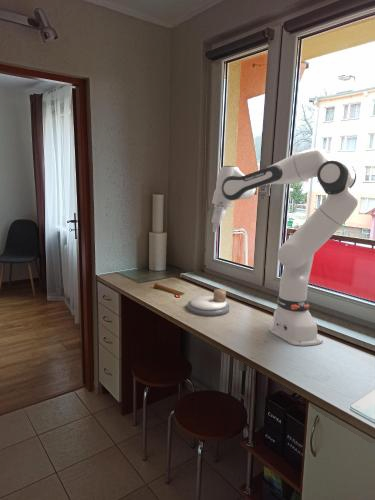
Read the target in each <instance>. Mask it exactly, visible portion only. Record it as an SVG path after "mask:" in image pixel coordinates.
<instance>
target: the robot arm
mask: <svg viewBox="0 0 375 500" xmlns="http://www.w3.org/2000/svg"><path fill="white" fill-rule="evenodd" d="M313 178H317V180H318V183H319V185H320V186H321V188H322V190H323V191H324V193H325V194H327V196H326V198H325V200H324V201H323V202H322V203H321V204H320V205H319V206H318V207H317V209H316V210H315V211H314V212H312V214H311V215H310V216H309V217H308V218H307V220H306V221H305V222H304V223H303V224H302V225H300V226H299V228H298V229H297V230H295V231H294V233H292V235H290V236H289V238H288V239H286V240H285V242H284V243H283V244H282V245H281V246H280V248H279V250H278V252H277V258H278V259H277V260H278V262H279V263H280V265H282V266H283V271H282V273H281V275H280V282H279V293H278V296H277V303H276V304H277V307H276V308H275V310H274V312H273V315H272V316H273V317H272V323H271V326H270V327H269V328H268V331H269V332H270V333H272V334H274V335H275V336H277V337H279V338H281V339H282V340H284V341H286V342H288V343H289V344H291V345H293V346H304V347H306V346H313V345H314V346H315V345H320V344H322V343H323V342H324V339H323V338H322V337H321V336H320V335H319V334H318V322H317V320H314V318H313V316H312V314H311V313H310V311H309V308H310V304H309V302H308V298H307V296H308V287H309V280H310V276H311V271H312V267H313V262H314V256H315V253H316V252H318V250H320V249H321V248H322V247H323V246H324V244H325V243H327V242H328V241H329V240H330V238H331V237H333V236H334V235H335V233H336V232H337V231H338V230H339V229H340V228H341V227H342V226H343V225H345V223H346V221H348V219H349V218H350V217H351V216H352V214H353V213H354V211H355V210H356V208H357V207H358V201H359V200H358V198H357V196H356V194H354V192H352V191H351V188H352V187H353V186H354V184H355V183H356V180H357V174H356V171H355V169H354V168H353V167H352V166H350V165H349V163H347V162H346V161H343V160H340V159H331V158H329V155H328V153H327V152H326V150H325V149H323V148H320V147H316V148H310V149H307V150H303V151H300V152H297V153H295V154H291V155H289V156H288V157H286V158H283V159H281V160H280V161H278V162H275V163H273V164H271V165H269V166H267V167H265V168H262V169H258V170H257V171H253V172H251V173H248V174H244V173H243V172H242V171H241V170H240V169H239V167H238V166H235V165H224V166H222V167H221V168H220V170H219V172H218V175H217V179H216V183H215V185H216V186H215V187H216V188H215V190H214V191H213V196H212V200H211V203H212V204H214V205H213V208H214V209H213V214H212V217H211V224H212V230H211V232H213V233H216V232H217V230H218V229H219V228H220V224H221V222H222V220H223V219H224V217H225V216H226V212H227V210H228V208H230V207H231V206H232V202H233V201H237V200H249V199H250V198H252V197H254V195H255V193H256V192H257V188H260V187H261V188H262V187H263V186H268V185H290V184H291V185H292V184H296V183H301V182H304V181H306V180H309V179H313Z"/></svg>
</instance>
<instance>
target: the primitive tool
mask: <svg viewBox="0 0 375 500" xmlns="http://www.w3.org/2000/svg"><path fill="white" fill-rule="evenodd" d="M153 289H155V290H156V289H157V290H160V291H163V292H167V293H169V294H172V295H175V296H179V297H181V296H184V295H185V294H186V293H185V292H183V291H180V290H176V289H173V288H169V287H167V286H165V285H161V284H159V283H158V282H155V283H154V284H153Z"/></svg>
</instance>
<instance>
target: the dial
mask: <svg viewBox="0 0 375 500" xmlns="http://www.w3.org/2000/svg"><path fill="white" fill-rule="evenodd" d="M226 297H227V290H226V289H223V288H215V289H214V290H213V295H197V296H195V297H193V298H191V299H190V301H191V305H192V306H193V307H195V308H197V309H201V310H210V311H213V310H221V309H224V308H225V307H226V303H227V300H226V299H227V298H226Z"/></svg>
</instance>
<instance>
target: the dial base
mask: <svg viewBox="0 0 375 500" xmlns="http://www.w3.org/2000/svg"><path fill="white" fill-rule="evenodd" d="M187 310H188V312H190V313H191V314H194V315H197V316H202V317H220V316H224V315H227V314H228V313H229V312H230V305H229V302H226V307H225V308H224V309H221V310H213V311H210V310H201V309H197V308H195V307H193V306H192V305H191V300H189V301H187Z"/></svg>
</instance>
